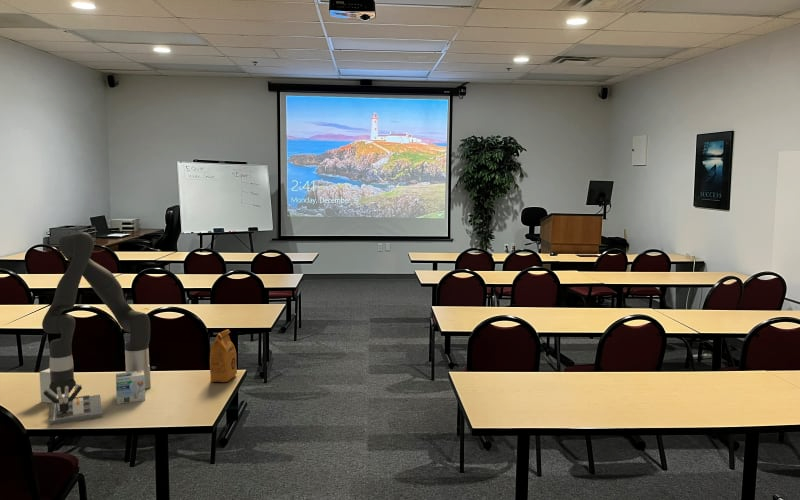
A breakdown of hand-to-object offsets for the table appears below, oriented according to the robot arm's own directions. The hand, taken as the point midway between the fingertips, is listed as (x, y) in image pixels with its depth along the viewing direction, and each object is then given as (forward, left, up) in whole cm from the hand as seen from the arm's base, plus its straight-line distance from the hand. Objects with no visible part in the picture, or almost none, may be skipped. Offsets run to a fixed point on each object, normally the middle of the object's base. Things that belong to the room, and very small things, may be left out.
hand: (64, 412), depth 220 cm
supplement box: (+4, -25, -3) cm, 25 cm away
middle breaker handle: (+1, -7, -1) cm, 7 cm away
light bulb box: (-23, -11, -3) cm, 26 cm away
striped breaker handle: (-5, 0, -1) cm, 5 cm away
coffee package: (-62, -19, -3) cm, 65 cm away
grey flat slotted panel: (-4, -7, -3) cm, 9 cm away
